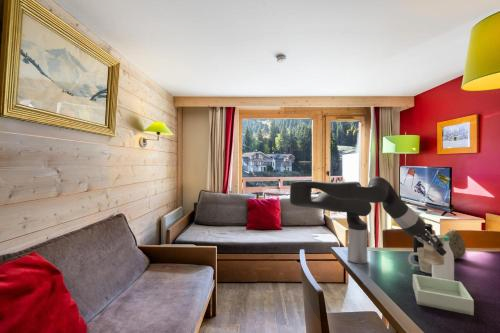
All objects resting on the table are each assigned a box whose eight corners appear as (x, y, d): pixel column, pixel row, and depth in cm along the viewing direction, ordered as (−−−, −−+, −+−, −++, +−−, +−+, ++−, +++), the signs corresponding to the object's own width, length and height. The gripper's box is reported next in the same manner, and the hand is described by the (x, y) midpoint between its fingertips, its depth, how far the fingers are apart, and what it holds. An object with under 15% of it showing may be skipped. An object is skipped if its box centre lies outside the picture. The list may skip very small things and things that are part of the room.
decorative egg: (470, 262, 136) (470, 233, 136) (447, 261, 138) (447, 232, 138) (457, 255, 146) (457, 228, 146) (436, 254, 148) (436, 228, 148)
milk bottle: (455, 288, 108) (455, 239, 108) (432, 283, 112) (432, 236, 112) (452, 281, 114) (452, 235, 114) (431, 277, 118) (431, 232, 118)
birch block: (432, 264, 97) (432, 237, 96) (423, 260, 101) (423, 234, 101) (444, 264, 97) (444, 237, 97) (435, 260, 101) (435, 234, 101)
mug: (441, 275, 120) (441, 253, 120) (411, 273, 123) (411, 251, 123) (433, 268, 128) (433, 247, 128) (404, 266, 131) (404, 246, 131)
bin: (417, 304, 95) (417, 290, 95) (412, 286, 109) (412, 274, 109) (473, 315, 88) (473, 300, 88) (460, 294, 102) (460, 281, 102)
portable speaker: (420, 263, 134) (420, 225, 134) (409, 257, 144) (409, 221, 144) (437, 263, 134) (437, 225, 134) (425, 257, 144) (425, 221, 143)
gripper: (390, 223, 105) (419, 252, 106) (413, 232, 91) (447, 266, 92) (403, 209, 106) (432, 239, 106) (428, 217, 91) (461, 250, 92)
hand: (438, 251), depth 99 cm, fingers closed on birch block, 4 cm apart
